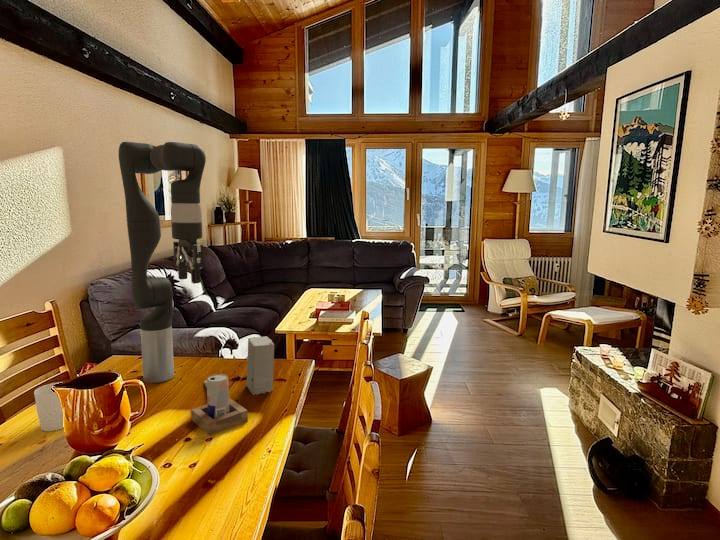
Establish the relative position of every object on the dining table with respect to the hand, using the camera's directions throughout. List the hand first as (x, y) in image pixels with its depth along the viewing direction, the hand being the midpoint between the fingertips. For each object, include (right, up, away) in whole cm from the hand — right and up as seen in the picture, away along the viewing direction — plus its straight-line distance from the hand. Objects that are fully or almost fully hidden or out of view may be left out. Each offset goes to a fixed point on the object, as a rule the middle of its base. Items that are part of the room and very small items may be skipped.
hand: (189, 281), depth 114 cm
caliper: (+1, -35, +13) cm, 38 cm away
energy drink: (+9, -37, -2) cm, 38 cm away
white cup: (-32, -37, -6) cm, 49 cm away
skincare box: (+15, -34, +18) cm, 41 cm away
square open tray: (+9, -37, -2) cm, 38 cm away
